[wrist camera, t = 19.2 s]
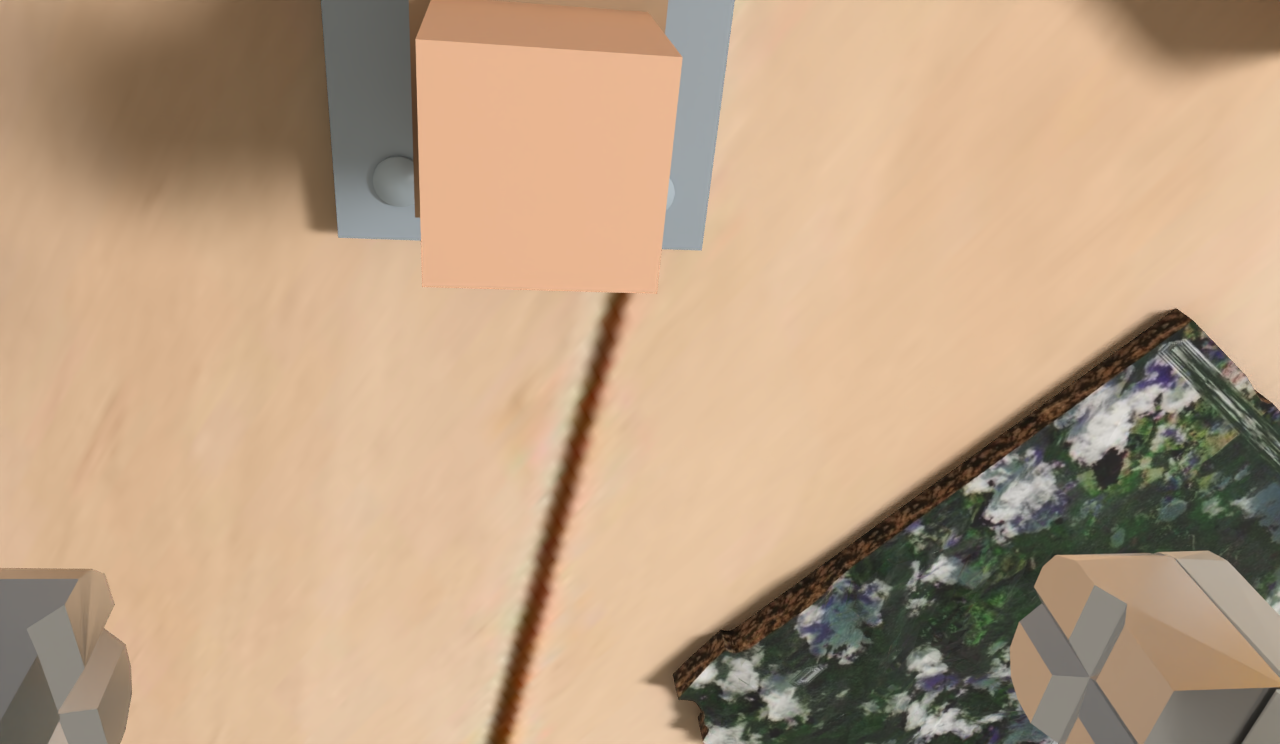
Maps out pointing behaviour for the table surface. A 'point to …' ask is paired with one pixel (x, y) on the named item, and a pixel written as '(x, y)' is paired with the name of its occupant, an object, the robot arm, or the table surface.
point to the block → (543, 146)
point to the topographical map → (1004, 557)
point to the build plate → (382, 116)
